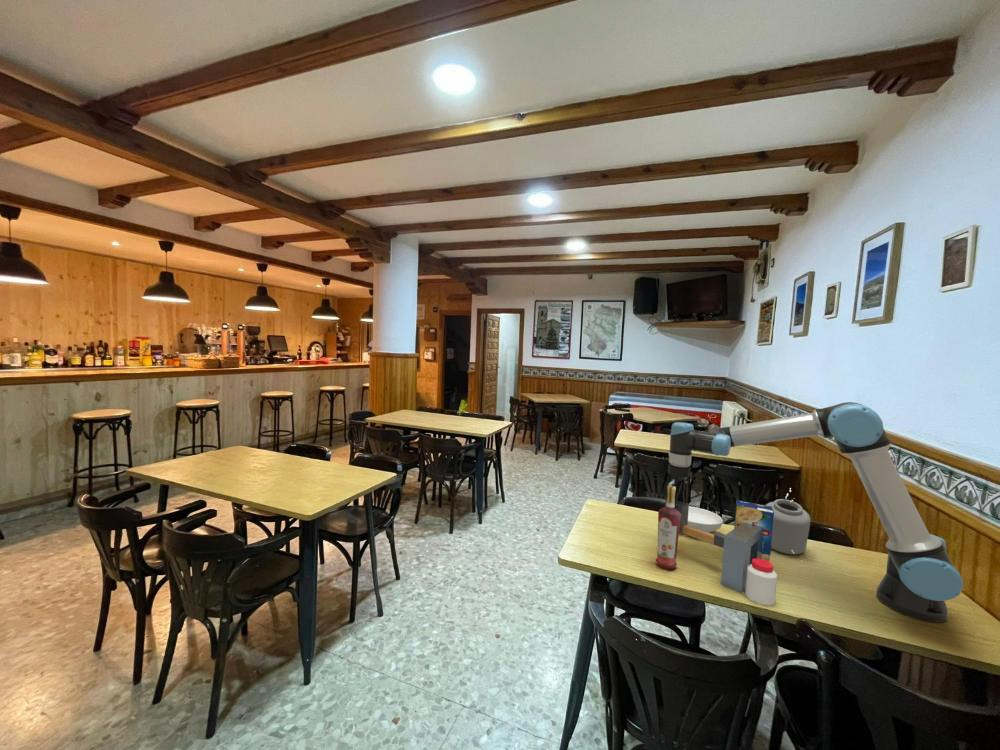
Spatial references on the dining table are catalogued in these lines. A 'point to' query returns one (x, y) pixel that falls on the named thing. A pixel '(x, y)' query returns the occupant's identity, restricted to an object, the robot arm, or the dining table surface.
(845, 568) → the dining table surface
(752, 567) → the pill bottle
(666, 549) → the red glass bottle
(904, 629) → the dining table surface
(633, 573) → the dining table surface
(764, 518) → the blue food box
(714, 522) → the bowl
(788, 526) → the jar
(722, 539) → the hammer
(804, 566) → the dining table surface
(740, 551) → the block
